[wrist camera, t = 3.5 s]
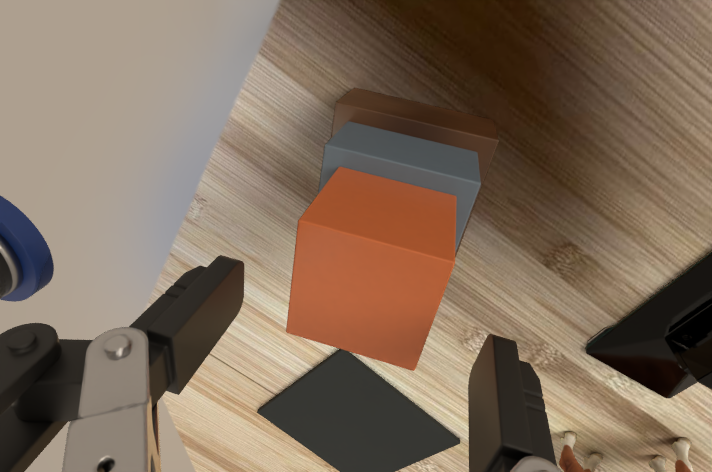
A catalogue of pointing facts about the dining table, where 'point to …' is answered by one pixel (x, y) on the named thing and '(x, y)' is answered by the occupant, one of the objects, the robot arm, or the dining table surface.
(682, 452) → the bull figurine
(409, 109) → the base block
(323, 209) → the top block
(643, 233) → the dining table surface
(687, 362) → the build plate
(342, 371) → the mat
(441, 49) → the dining table surface
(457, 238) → the middle block
